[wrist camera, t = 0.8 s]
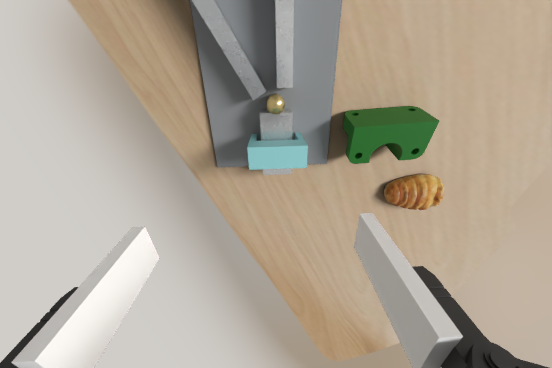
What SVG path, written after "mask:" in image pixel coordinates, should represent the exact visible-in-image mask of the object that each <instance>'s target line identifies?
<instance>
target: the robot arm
mask: <svg viewBox="0 0 552 368" xmlns="http://www.w3.org/2000/svg"><path fill="white" fill-rule="evenodd" d="M354 248H355V250H356V252H357V254H358V256H359V258H360V260H361V262H362V264H363V266H364V268H365V270H366V273H367V275H368V277H369V279H370V281H371V283H372V285H373V287H374V289H375V291H376V293H377V295H378V297H379V299H380V301H381V303H382V306H383V308H384V310H385V312H386V314H387V316H388V318H389V320H390V322H391V324H392V326H393V328H394V330H395V332H396V334H397V336H398V339H399V341H400V343H401V345H402V347H403V349H404V351H405V353H406V355H407V357H408V359H409V361H410V363H411V365H412V367H413V368H441V367H442V368H548V367H544V366H541V365H538V364H534V363H530V362H527V361H523V360H520V359H517V358H515V357H514V356H513V355H512V354H510V353H509V352H508V351H507V350H505V349H503V348H502V347H500V346H498V345H497V344H494V343H491V342H490V341H489V340H488V339H487V338H486V337H485V336H484V335H483V334H482V333H481V331H480V330H479V329H478V328H477V327H476V325H475V324H474V323H473V322H472V320H471V319H470V318H469V317H468V316H467V314H466V313H465V312H464V311H463V309H462V308H461V307H460V306H459V305H458V303H457V302H456V301H455V300H454V299H453V298H452V297H451V295H450V294H449V292H448V291H447V290H446V289H444V286H443V285H442V284H441V283H440V281H439V280H438V279H437V278H436V276H435V275H434V274H432V273H431V272H430V271H428V270H427V269H426V268H424V267H423V266H418V267H412V266H411V265H410V263H409V262H408V261H407V259H406V258H405V257H404V255H403V254H402V253H401V251H400V250H399V248H398V247H397V246H396V244H395V243H394V242H393V240H392V239H391V238H390V236H389V235H388V234H387V232H386V231H385V229H384V228H383V227H382V225H381V224H380V223H379V221H378V220H377V219H376V217H375V216H374V214H373V213H363V214H360V215H359V221H358V227H357V233H356V239H355V244H354ZM158 260H159V256H158V254H157V252H156V250H155V248H154V246H153V243H152V241H151V239H150V237H149V235H148V233H147V230H146V228H145V227H133V228H131V229H130V231H129V232H128V233H127V234H126V235H125V236H124V237H123V238H122V240H121V241H120V242H119V243H118V244H117V245H116V246H115V247H114V249H113V250H112V251H111V252H110V253H109V254H108V255H107V256H106V257H105V258H104V260H103V261H102V262H101V263H100V264H99V265H98V266H97V267H96V269H95V270H94V271H93V272H92V273H91V274H90V275H89V276H88V277H87V279H86V280H85V281H84V282H83V283H82V284H81V285H80V286H79V287H75V288H73V289H72V290H71V291H69V292H68V293H67V294H65V295H64V296H63V297H62V298H60V300H59V301H58V302H57V303H56V304H55V305H54V306H53V307H52V308H51V309H50V312H48V313H46V314H45V316H44V317H43V318H42V319H41V320H40V322H39V323H37V324H36V325H35V326H34V327H33V328H32V330H31V331H30V332H29V333H28V334H27V335H26V336H25V337H24V338H23V339H22V340H21V341H20V342H19V343H18V344H17V346H16V347H15V348H14V349H13V350H12V351H11V352H10V353H9V354H8V355H7V356H6V357H5V359H4V360H3V361H2V362H1V363H0V368H94V367H95V365H96V364H97V362H98V360H99V359H100V357H101V355H102V354H103V352H104V350H105V349H106V347H107V345H108V344H109V342H110V340H111V339H112V337H113V335H114V334H115V332H116V330H117V328H118V327H119V325H120V324H121V322H122V320H123V319H124V317H125V315H126V314H127V312H128V310H129V308H130V307H131V305H132V304H133V302H134V300H135V299H136V297H137V295H138V294H139V292H140V290H141V289H142V287H143V285H144V284H145V282H146V280H147V279H148V277H149V275H150V273H151V272H152V270H153V269H154V267H155V265H156V264H157V262H158Z"/></svg>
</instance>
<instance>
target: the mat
mask: <svg viewBox="0 0 552 368" xmlns="http://www.w3.org/2000/svg"><path fill="white" fill-rule="evenodd" d="M215 1H216V3H217V5H218V7H219V8H220V10H221V12H222V13H223V15H224V17H225V19H226V20H227V22H228V24H229V26H230V27H231V29H232V31H233V33H234V34H235V36H236V38H237V40H238V41H239V43H240V45H241V46H242V48H243V50H244V52H245V53H246V55H247V57H248V59H249V60H250V62H251V64H252V66H253V67H254V69H255V71H256V73H257V74H258V76H259V78H260V80H261V81H262V83H263V85H264V86H265V88H266V90H267V91H266V92H265V93H264V94H262V95H261V96H259V97H258V98H256V99H255V100H253V99H252V97H251V96H250V94H249V93H248V91H247V89H246V88H245V86H244V84H243V83H242V81H241V80H240V78H239V76H238V75H237V73H236V71H235V70H234V68H233V67H232V65H231V63H230V62H229V60H228V58H227V57H226V55H225V54H224V52H223V50H222V49H221V47H220V45H219V44H218V42H217V41H216V39H215V37H214V36H213V34H212V32H211V31H210V29H209V28H208V26H207V24H206V23H205V21H204V20H203V18H202V16H201V15H200V13H199V11H198V10H197V8H196V7H195V5H194V3H193V2H192V0H190V5H191V11H192V17H193V23H194V29H195V35H196V41H197V47H198V53H199V59H200V65H201V71H202V77H203V83H204V89H205V95H206V101H207V107H208V113H209V119H210V125H211V131H212V137H213V143H214V149H215V155H216V161H217V167H244V166H249V162H248V151H247V147H248V144H249V141H250V138H251V134H257V141H261V129H260V110H268V109H267V99H268V97H269V96H270V95H271V94H274V93H277V94H279V95H281V97H282V98H283V99H284V102H285V108H284V109H290V110H291V111H292V112H293V115H292V140H295V133H297V132H300V133H301V135H302V136H303V138H304V140H305V141H306V143H307V145H308V154H307V164H327V155H328V144H329V133H330V123H331V112H332V102H333V91H334V80H335V70H336V59H337V49H338V38H339V27H340V17H341V6H342V0H294V30H293V88H277V87H276V52H275V6H274V0H215Z"/></svg>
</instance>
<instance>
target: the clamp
mask: <svg viewBox="0 0 552 368" xmlns="http://www.w3.org/2000/svg"><path fill="white" fill-rule="evenodd" d="M438 123H439V120H437V119H436V118H434V117H433V116H431V115H430V114H428V113H427V112H425V111H424V110H422V109H420V108H418V107H414V106H402V107H389V108H376V109H363V110H351V111H347V112H345V116H344V122H343V128H344V130H345V132H346V133H347V135H348V136H349V138H348V144H347V149H346V155H347V157H348V159H349V161H350V162H351V163H354V164H358V163H369V159H370V156H371V154H372V153H373V152H374V151H375V150H376V149H377V148H378V147H380V146H382V145H384V144H386V146H387V147H388V149H389V150H390V151H391V152H392V153H393V154H394V155H395V157H396V158H397V159H398V160H411V159H416V158H418V157H420V156H421V155H422V154H423V153H424V151H425V149H426V147H427V145H428V143H429V141H430V139H431V137H432V135H433V133H434V131H435V129H436V127H437V125H438Z"/></svg>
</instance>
